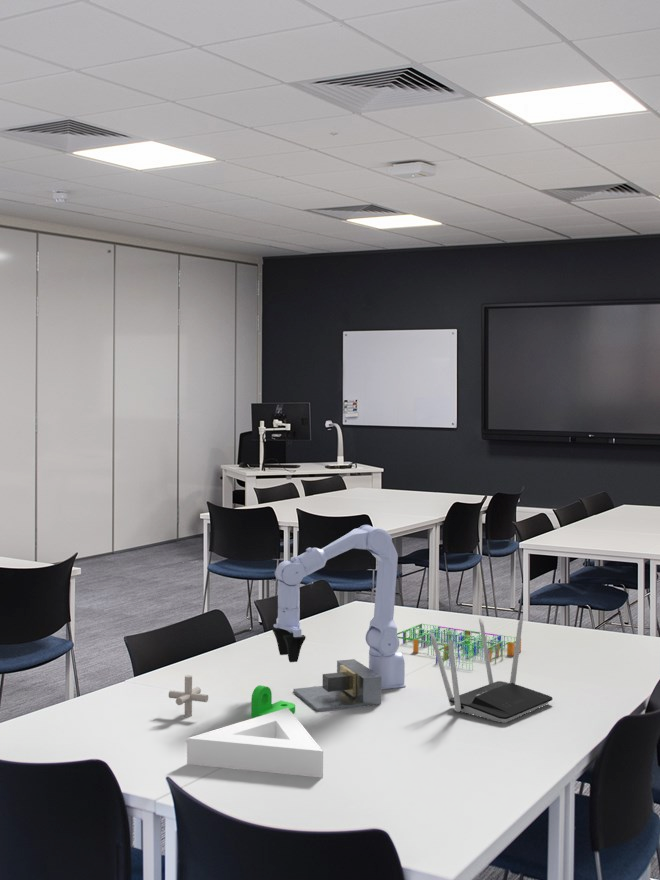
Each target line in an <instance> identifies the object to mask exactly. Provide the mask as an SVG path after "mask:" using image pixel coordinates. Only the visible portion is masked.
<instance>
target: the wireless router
mask: <svg viewBox="0 0 660 880" xmlns="http://www.w3.org/2000/svg"><path fill="white" fill-rule="evenodd" d="M523 622H524V617H520V619H519V620H518V623H517V629H516V635H515V637H516V638H515V641H516V643H515V650H514V655H513V657H512V658H513V659H512V664H511V673H510V679H509V680H510V681H509V682H507V681H501V680H497V681H495V682H494V678H493V673H492V672H493V671H492V667H491V661H490V660H489V654H488V648H489V647H488V643H487V642H488V641H487V642H486V634H485V633H486V631H485V625H484V622H483V620H482V619H481V618H480V617H479V618H478V623H479V628H480V632H481V633H480V634H481V638H482V643H483V653H484V654H483V656H484V662H485V668H486V672H487V673H486V674H487V680H488V684H487V685H483V686H482V687H478V688H476V689H472V690H470V691H467V692H465V693H461V694H460V690H459V681H458V674H457V673H458V672H457V667H456V662H455V661H456V656H455V649H454V645H453V643H452V642H453V640H452V641H451V640H450V639H448V646H449V655H450V657H449V660H450V672H451V682H452V688H451V686H450V682H449V679H448V676H447V675H448V674H447V673H446V669H445V665H443V657H441V656H442V654H441V650H440V651H439V648H440V647H439V645H437V643H438V641H436V638H435V635H434V634H433V633H432V632H429V633H430V636H431V639H432V643H433V644H432V647H433V646H434V655H435V658H436V657H437V661H438V663H437V664H438V667H439V670H440V674H441V677H442V681H443V685H444V688H445V692H446V697H447V698H448V699H447V700H448V703H449V706H450V707H452V706H454V711H455V712H459V713H463V712H466V713H470V714H474V715H476V716H475V717H478V716H481V717H484V718H483V719H485V718H488V719H487V720H489V719H491V720H490V721H493V720H494V721H493V722H496V721H498V722H497V723H500V722H502V723H501V724H506V723H508V721H509V722H510V720H511V721H513V720H515V718H516V719H517V717H518V718H520V717H522V715H523V714H525V715H527V714H529V713H528V712H530V711H532V712H534V711H536V710H535V709H537V708H539V707H542V706H544V705H546V704H547V705H548V704H549V703H550V702H551V701H553V697H552V696H551V695H549V694H545V693H542V692H540V691H536V690H534V689H531V688H528V687H525V686H522V685H519V684H516V681H517V671H518V663H519V655H520V652H519V648H520V640H521V641H522V630H523ZM452 689H453V690H452ZM452 691H453V693H452ZM547 705H546V706H547ZM544 707H545V706H544ZM542 708H543V707H542ZM539 709H540V708H539ZM533 710H534V711H533ZM537 710H538V709H537ZM460 711H462V712H460ZM466 713H465V714H466ZM526 713H527V714H526ZM530 713H531V712H530ZM470 714H469V715H470ZM474 715H473V716H474ZM519 716H520V717H519ZM523 716H524V715H523ZM481 717H480V718H481ZM512 719H513V720H512Z"/></svg>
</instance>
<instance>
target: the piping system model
mask: <svg viewBox="0 0 660 880" xmlns="http://www.w3.org/2000/svg"><path fill="white" fill-rule="evenodd" d="M423 626H428V624H426V623H419V624H417V625H415V626H412V627H410V628H408V629H404V630H402V631H399V632H397V636H398V635H400V634H402V636H398V639H401V640H402V644H403V645H404V644H405V645H408V643H410V642H411V641H412V646H413V647H412V650H413V652H412V653H414V654H415V653H416V654H423V655H429V650H430V651H431V653H430V655H431V656H433V657H434V656H435V650H434V646H433V643H432V639H431V636H430V632H432V633H433V634H434V635H435V638H436V641H437V645H438V646H442V647H438V648H439V651H440V652H443V654H442V655H441V658H442V661H443V665H444V663H445V662H444V661H446V664H447V665H449V667H451V664H450V655H449V646H448V639H450V640H451V641H452V643H453V646H455V647H454V648H455V649H454V657H455V665H456V668H458V667H457V662H458V663H462V664H461V667H462V669H464V665H465V664H466V665H467V664H468V665H472V663H471V662H469V663H468V662H467V661H470V660H471V659H472V658H471V657H474V659H476V658H477V656H476V654H477V655H479V660H480V661H482V656H484V654H483V653H482V652H484V649H483V643H482V636H481V631H475V630H467V629H461V628H454V627H446V626H440V625H436V626H435V625H434V624H429V629H425V628H423ZM431 627H432V628H431ZM416 631H418V632H416ZM457 631H461V632H457ZM407 633H409V635H408V636H407ZM471 634H477V635H476V636H475V635H471ZM488 635H489V636H488ZM485 636H486V642H487V648H488V654H489V660H490V662H491V661H492V660H494V662H495V663H497V658H498V657H499V656H500V655H501V660H503V659H504V658H503V657H504V656H503V653H504V651H503V650H507V651H506V656H509V657H510V656H511V657H512V656H513V657H514V650H515V643H516V636H512V638H513V641H506V639H508V638H511V635H510V636H509V635H503V634H495V633H487V632H485ZM502 637H503V640H502ZM490 638H491V639H490ZM505 638H506V639H505ZM419 643H420V645H421V648H422V647H423V648H426V647H427V653H425V652H419ZM506 645H507V646H506ZM430 646H431V648H429V647H430ZM460 649H462V650H461V653H460ZM493 651H495V652H494V654H495V655H494V657H493V658H492V653H493ZM520 652H522V639H521V640H520V648H519V653H520ZM461 656H462V659H464V658H465V661H464V660H462V661H460V660H461ZM464 656H465V657H464ZM457 658H458V659H457ZM447 660H448V661H447ZM435 664H436V665H437V664H438V661H437V657H436V656H435ZM444 666H445V665H444ZM467 668H468V669H469V670H471V666H467ZM471 671H474V667H472V670H471Z"/></svg>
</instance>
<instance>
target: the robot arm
mask: <svg viewBox="0 0 660 880" xmlns="http://www.w3.org/2000/svg"><path fill="white" fill-rule="evenodd" d="M352 549H357V550H367V551H368V552H369V553H371V554H372V556H373V557H374V558H375V559H376V560H377V569H376V570H377V571H376V582H375V584H376V585H375V598H374V610H373V611H374V612H373V617H372V619H371V620H370V621H369V626H368V627H369V628H368V630H367V631H366V633H365V642H366V644H367V646H368V647H369V650H368V668H369V669H370V670H372V671H374V672H375V673H377V674H378V675H380V676H381V690H387V689H388V690H389V689H397V688H398V689H399V688H405V687H406V684H405V674H406V673H405V671H406V670H405V668H406V666H405V662H406V661H405V658H404V655H403V654H402V652H400V651H398V649H399V647H400V638H398V637H399V636H398V635H397V633H398V628H397V625H396V623H395V620H394V613H395V599H396V585H397V574H398V563H399V562H398V559H399V557H398V556H399V554H398V552H397V549H396V547H395V545H394V543H393V537H392V535H390V533H388V532H387V531H386V530H385V529H382V528H377V527H376V526H371V525H370V524H363V525H360V527H358V528H354V529H352V530H351V531H349V532H348V533H346V534H345V535H343V536H340V538H338V539H336V540H334V541H332V542H330V543H329V544H328V545H326V546H324V547H322V548H318V547H307V548H306V549H305V552H303V553H301V554H300V555H297V556H292V557H290V560H283V561H281V562H279V563H278V566H276V568H275V570H274V576H275V578H276V579H277V581H278V582H277V583H278V584H277V585H278V586H277V618H276V620H275V621H276V623H274V624H273V628H272V629H271V630H272V633H273V634H274V637H275V640H276V643H277V648H278V652H279V656H287V658H288V662H289V663H297V662H298V660H299V658H300V652H301V649H302V646H303V644H304V642H305V640H306V638H307V637H306V635H304V634H302V628H301V622H300V620H301V619H300V617H301V615H300V614H301V613H300V612H301V611H300V608H301V607H300V599H301V597H300V595H301V594H300V593H301V592H300V584H301V582H302V581H303V578H306V577H307V576H309V575H311V574H313V573H315V572H316V571H318V570H321V569H322V568H324V567H325V566H326V563H327V561H328V560H330V559H332V558H335V557H337V556H338V555H341V554H343V553H345V552H348V551H349V550H352Z"/></svg>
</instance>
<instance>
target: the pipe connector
mask: <svg viewBox="0 0 660 880" xmlns="http://www.w3.org/2000/svg"><path fill="white" fill-rule="evenodd" d="M201 692H202V690H201V687H200V686H196V687H194V688H193V675H191V674H190V675H189V674H186V675H184V691H179V690H177V691H176V690H169V692H168V698H169V699H175V703H176V705H177V706H182V705H183V704H184V717H185V718H190V717H192V716H193V701H194V702H199V703H200V702H202V703H208V701H209V694H203V693H201Z"/></svg>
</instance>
